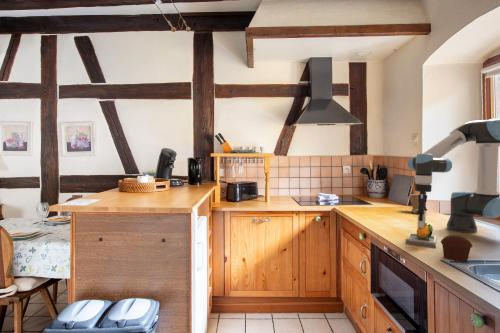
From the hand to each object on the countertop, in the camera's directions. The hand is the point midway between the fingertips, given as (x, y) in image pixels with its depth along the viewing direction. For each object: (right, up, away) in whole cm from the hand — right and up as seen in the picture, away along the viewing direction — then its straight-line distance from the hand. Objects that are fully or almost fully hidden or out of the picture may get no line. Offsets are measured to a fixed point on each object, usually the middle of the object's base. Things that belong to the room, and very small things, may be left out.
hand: (421, 224), depth 160 cm
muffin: (+2, -10, -24) cm, 26 cm away
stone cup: (+40, -6, +77) cm, 86 cm away
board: (+1, -9, +1) cm, 9 cm away
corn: (+1, -7, -1) cm, 7 cm away
